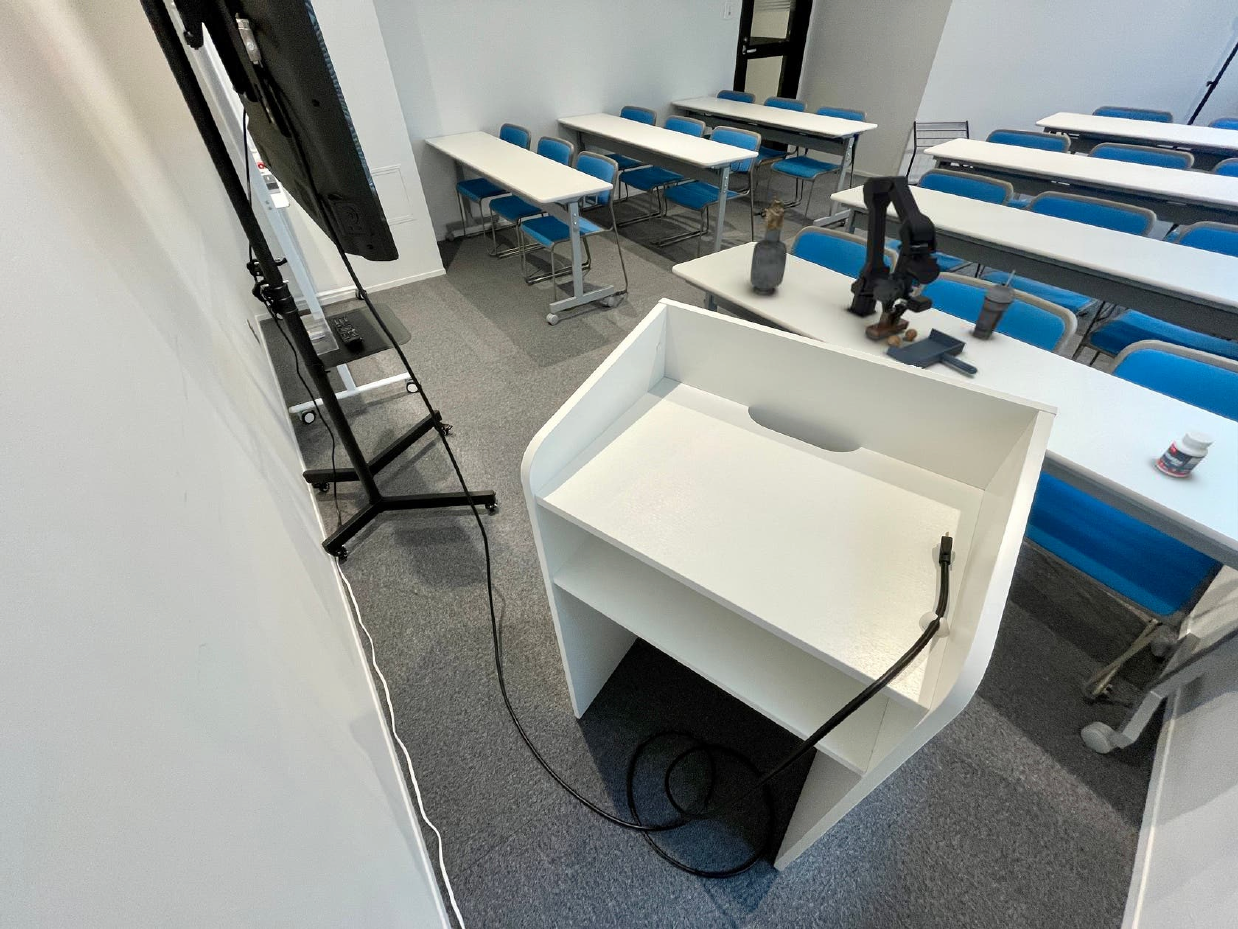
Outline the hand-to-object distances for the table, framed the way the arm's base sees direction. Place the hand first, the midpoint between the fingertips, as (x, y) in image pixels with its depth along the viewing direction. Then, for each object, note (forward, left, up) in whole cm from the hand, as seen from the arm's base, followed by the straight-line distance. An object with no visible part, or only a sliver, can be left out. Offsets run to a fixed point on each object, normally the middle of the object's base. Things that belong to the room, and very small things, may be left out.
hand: (888, 322), depth 156 cm
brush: (0, 0, -3) cm, 3 cm away
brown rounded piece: (+6, +4, -2) cm, 7 cm away
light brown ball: (+6, -3, -2) cm, 7 cm away
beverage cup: (+15, +23, -4) cm, 28 cm away
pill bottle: (+72, +2, -4) cm, 73 cm away
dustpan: (+19, 0, -4) cm, 19 cm away
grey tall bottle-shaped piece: (-46, -8, -4) cm, 46 cm away
